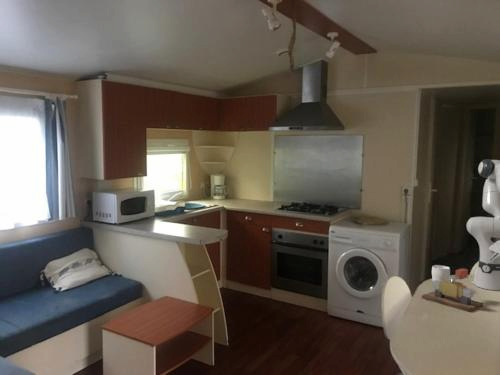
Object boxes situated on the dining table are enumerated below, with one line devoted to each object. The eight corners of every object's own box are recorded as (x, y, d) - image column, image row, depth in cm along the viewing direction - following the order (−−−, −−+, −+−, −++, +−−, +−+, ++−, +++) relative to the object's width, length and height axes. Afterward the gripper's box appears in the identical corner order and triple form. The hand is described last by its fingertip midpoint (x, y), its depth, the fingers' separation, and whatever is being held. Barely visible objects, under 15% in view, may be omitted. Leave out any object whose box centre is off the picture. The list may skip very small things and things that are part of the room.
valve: (436, 293, 207) (437, 277, 206) (473, 303, 193) (474, 286, 192) (430, 295, 203) (431, 279, 203) (468, 306, 189) (469, 288, 188)
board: (435, 293, 212) (436, 290, 212) (482, 306, 194) (482, 303, 194) (421, 298, 204) (421, 295, 204) (469, 311, 186) (469, 308, 185)
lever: (454, 282, 196) (455, 273, 195) (448, 281, 198) (449, 272, 198) (467, 278, 204) (467, 269, 204) (461, 277, 206) (462, 268, 206)
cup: (447, 292, 214) (448, 270, 214) (428, 289, 220) (430, 267, 219) (450, 288, 222) (451, 267, 221) (433, 285, 227) (434, 264, 226)
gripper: (499, 234, 205) (477, 252, 207) (521, 241, 185) (497, 261, 187) (507, 243, 205) (486, 261, 207) (531, 251, 185) (507, 271, 186)
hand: (491, 261), depth 196 cm, fingers closed
